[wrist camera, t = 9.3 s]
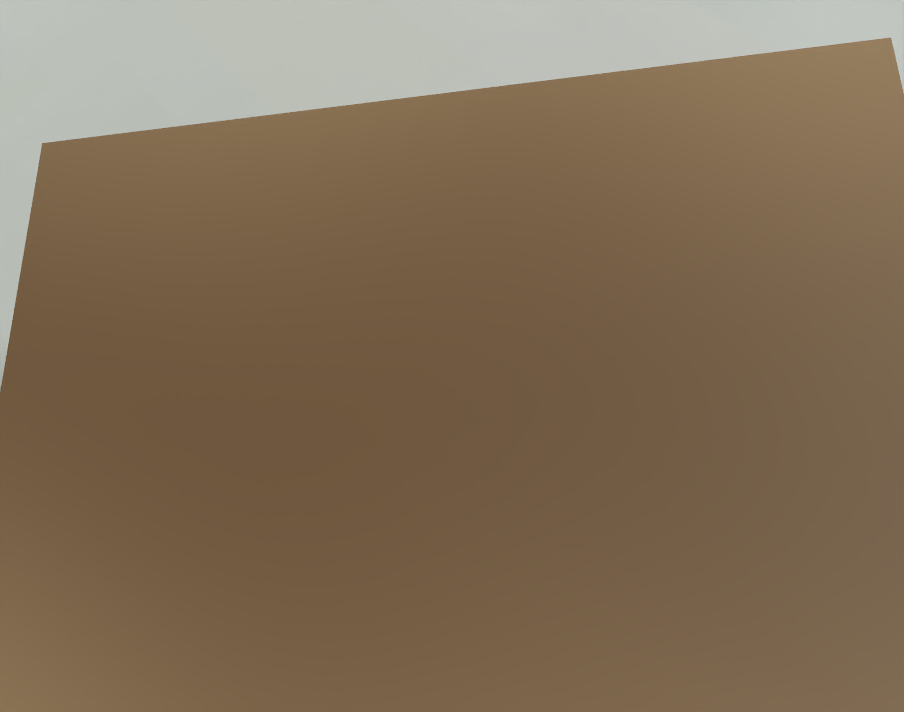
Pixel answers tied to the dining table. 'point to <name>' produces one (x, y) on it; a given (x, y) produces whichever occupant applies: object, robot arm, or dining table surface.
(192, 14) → the dining table surface
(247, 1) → the dining table surface
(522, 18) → the dining table surface
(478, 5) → the dining table surface
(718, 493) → the walnut block
